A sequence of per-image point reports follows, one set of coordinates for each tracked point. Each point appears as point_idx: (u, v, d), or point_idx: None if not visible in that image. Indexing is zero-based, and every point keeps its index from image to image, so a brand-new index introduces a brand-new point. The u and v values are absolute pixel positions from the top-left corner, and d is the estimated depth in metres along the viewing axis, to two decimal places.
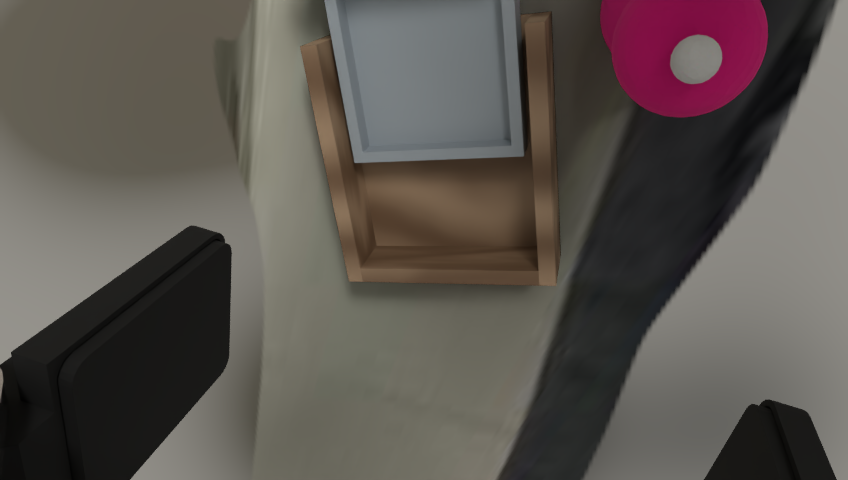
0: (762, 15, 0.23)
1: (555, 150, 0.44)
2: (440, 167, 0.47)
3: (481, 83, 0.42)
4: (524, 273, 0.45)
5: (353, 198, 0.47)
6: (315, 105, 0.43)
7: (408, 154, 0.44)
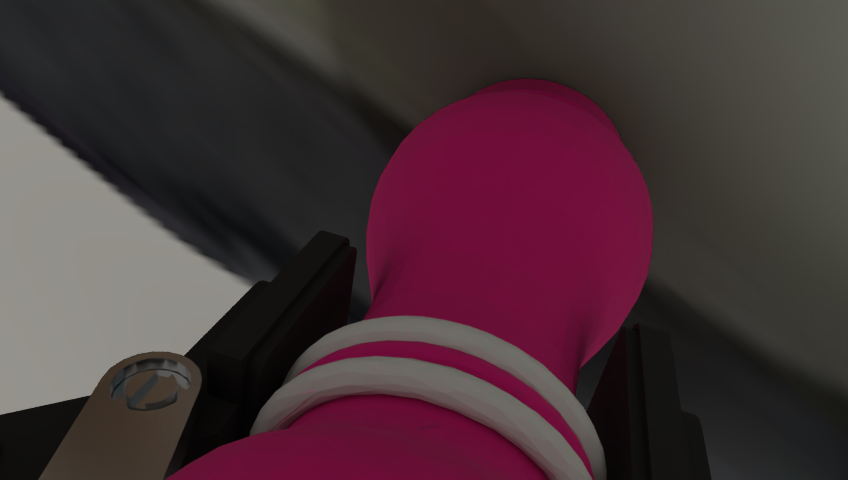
0: None
1: None
2: None
3: None
4: None
5: None
6: None
7: None
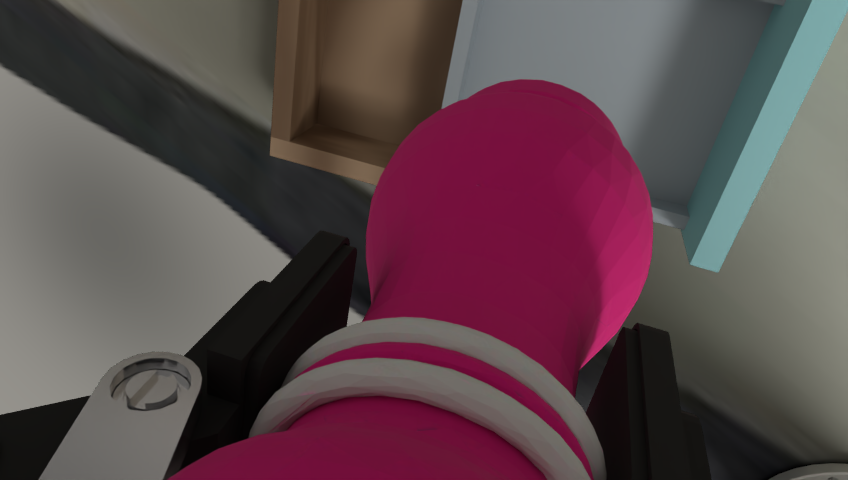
0: None
1: None
2: (438, 27, 0.35)
3: None
4: (288, 124, 0.36)
5: None
6: None
7: (469, 16, 0.31)
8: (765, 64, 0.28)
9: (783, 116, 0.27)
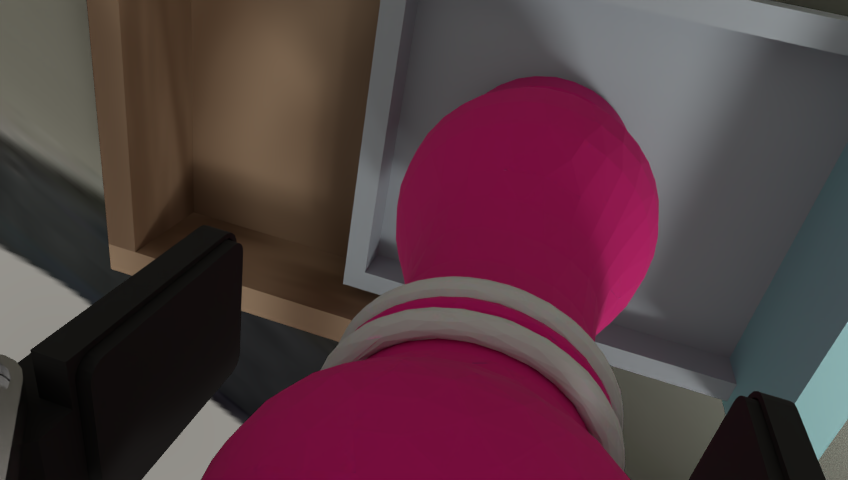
0: None
1: None
2: (352, 85, 0.23)
3: None
4: (129, 228, 0.24)
5: None
6: None
7: (385, 76, 0.20)
8: None
9: None
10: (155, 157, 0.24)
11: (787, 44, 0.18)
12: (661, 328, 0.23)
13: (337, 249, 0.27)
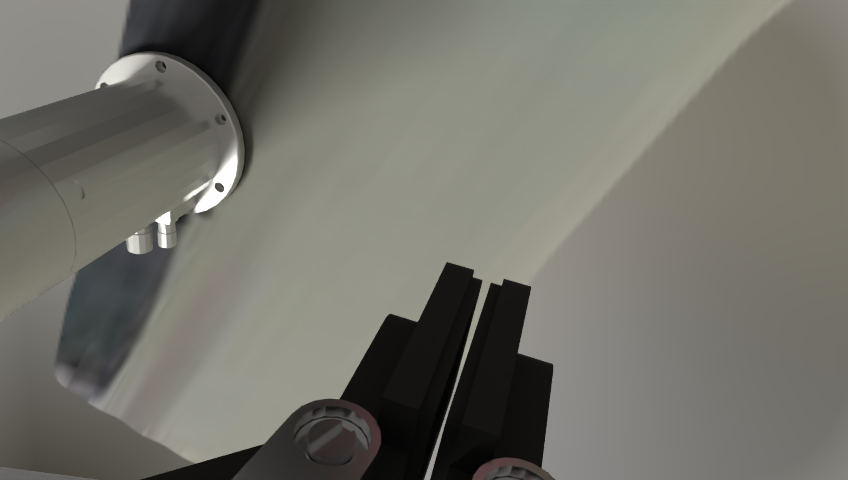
0: None
1: None
2: None
3: None
4: None
5: None
6: None
7: None
8: None
9: None
10: None
11: None
12: None
13: None
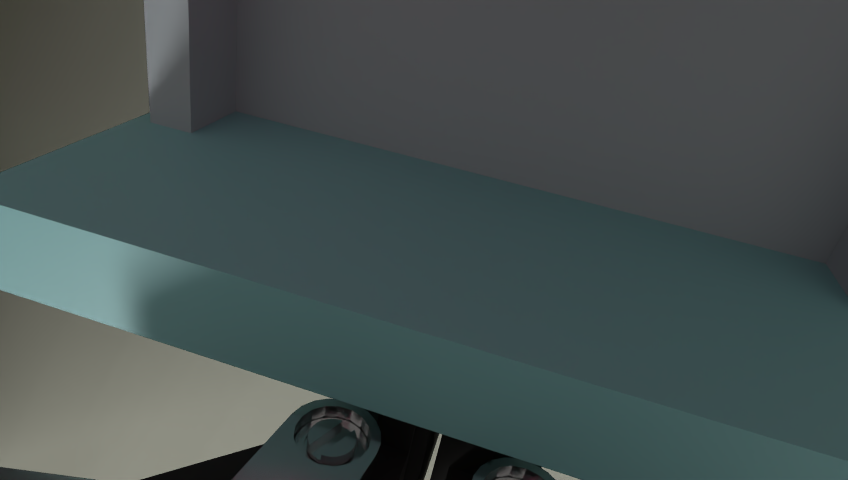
0: None
1: None
2: None
3: None
4: None
5: None
6: None
7: None
8: (700, 308, 0.08)
9: (552, 440, 0.07)
10: None
11: None
12: None
13: None
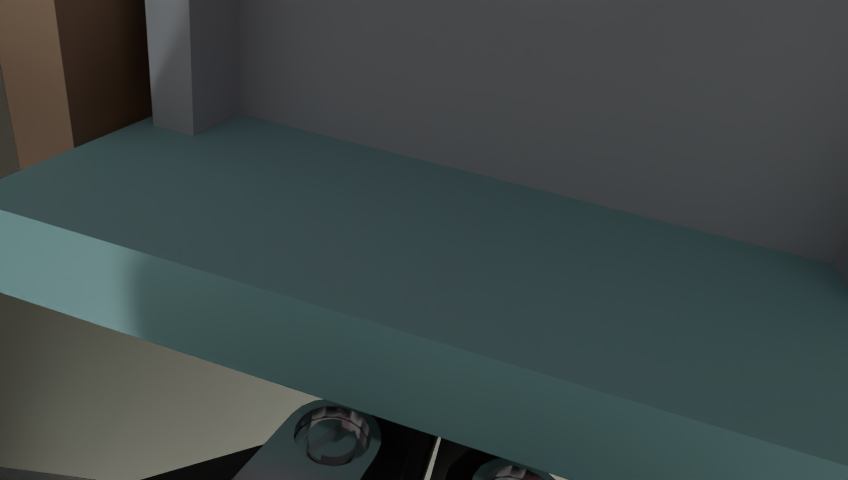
0: None
1: None
2: None
3: None
4: None
5: None
6: None
7: None
8: (703, 310, 0.08)
9: (552, 444, 0.07)
10: None
11: None
12: None
13: None
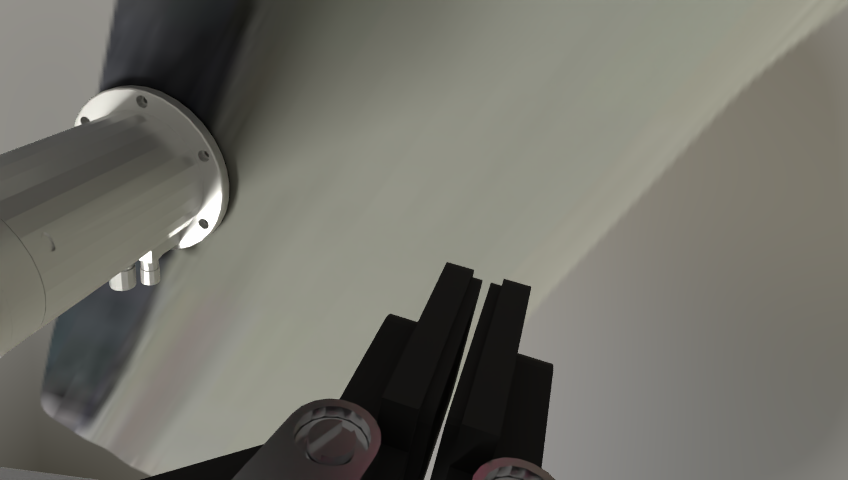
0: None
1: None
2: None
3: None
4: None
5: None
6: None
7: None
8: None
9: None
10: None
11: None
12: None
13: None
